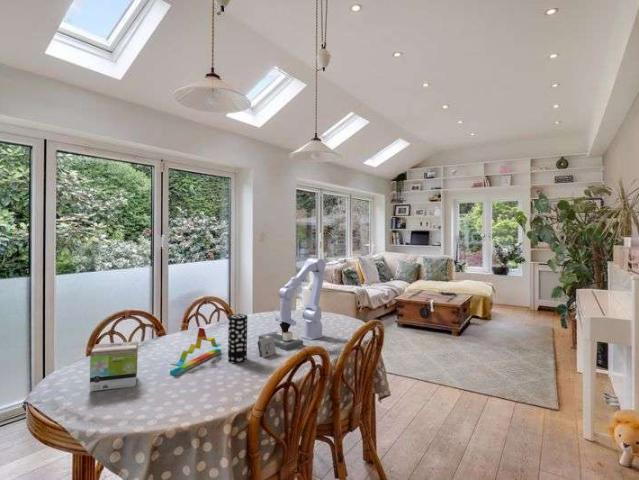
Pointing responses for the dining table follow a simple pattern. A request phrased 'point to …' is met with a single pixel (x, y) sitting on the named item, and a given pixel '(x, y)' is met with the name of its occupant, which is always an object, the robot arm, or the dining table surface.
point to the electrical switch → (266, 347)
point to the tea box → (113, 365)
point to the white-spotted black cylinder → (237, 338)
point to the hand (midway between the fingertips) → (285, 336)
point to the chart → (199, 359)
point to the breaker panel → (282, 341)
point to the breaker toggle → (287, 336)
